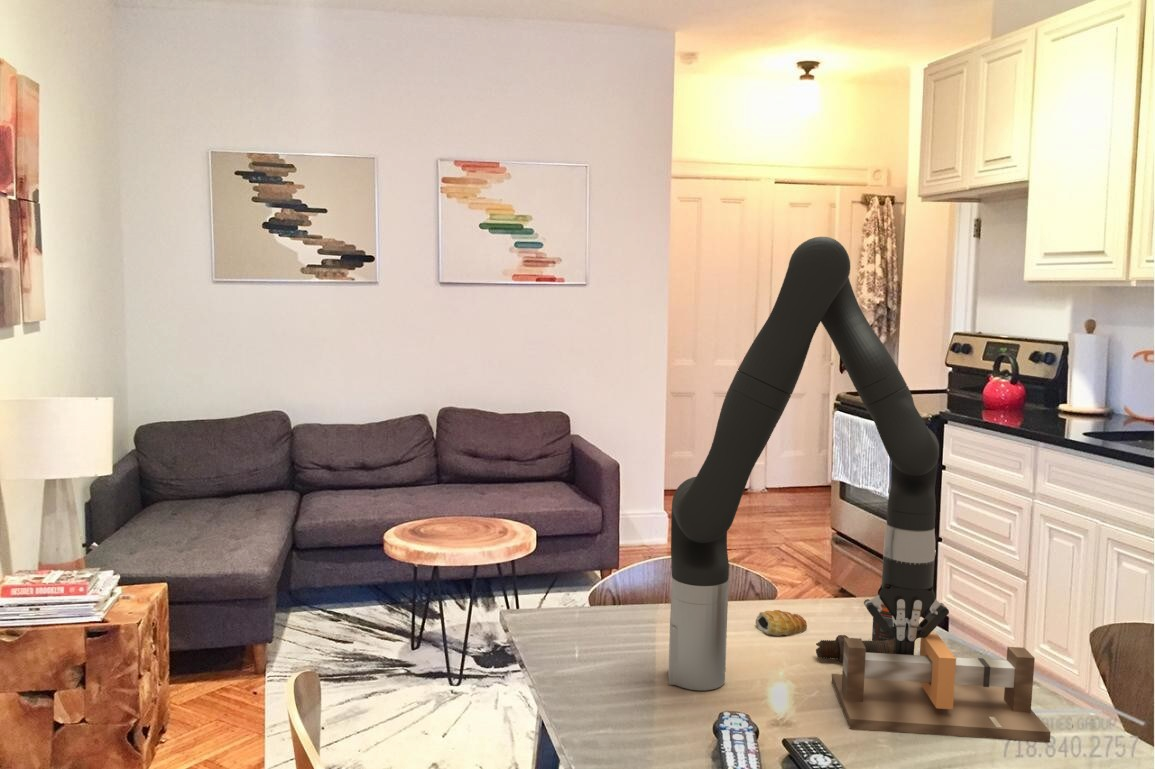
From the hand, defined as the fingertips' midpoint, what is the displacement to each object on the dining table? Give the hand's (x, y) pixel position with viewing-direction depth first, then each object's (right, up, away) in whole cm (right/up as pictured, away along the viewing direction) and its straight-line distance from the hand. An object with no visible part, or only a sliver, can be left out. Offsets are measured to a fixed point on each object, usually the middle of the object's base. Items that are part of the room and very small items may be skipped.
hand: (902, 661), depth 143 cm
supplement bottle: (+5, -4, +22) cm, 23 cm away
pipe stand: (+4, -7, -3) cm, 8 cm away
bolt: (-2, -5, +15) cm, 16 cm away
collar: (+4, -4, -3) cm, 6 cm away
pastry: (-13, -3, +30) cm, 32 cm away
